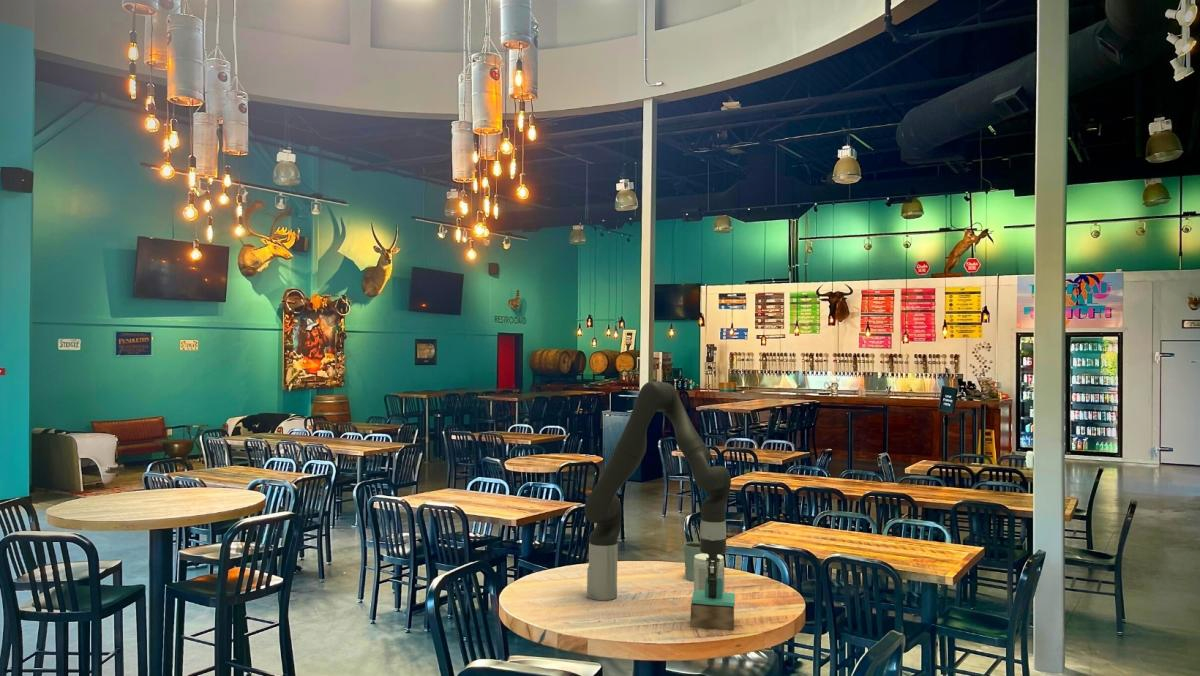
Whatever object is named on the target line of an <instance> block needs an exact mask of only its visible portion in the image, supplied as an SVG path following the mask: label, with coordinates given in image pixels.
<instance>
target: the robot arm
mask: <svg viewBox="0 0 1200 676" xmlns="http://www.w3.org/2000/svg"><path fill="white" fill-rule="evenodd" d="M657 412H661V413H663V414H664V415H665V416H666V418H667V419H668V420H669V421H670V422H671V425H672V427H673V429H674V436H675V441H676V443H677V444H676V445H677V446H678V449H679V450H680V452H681V453H682V454H683V457H684V458H685V460H686V461H687V462H688V464H689V467H690V471H691V474H692V476H693V479H694V481H695V484H696V485H697V487H698V488H699V489H701V491H702V492H705V493H709V495H708V496H707V498H705V499H704V500H703V501H702V502H701V506H700V514H701V515H700V527H699V542H700V551H701V552H702V553H704V554H708V555H709V558H706V566H707V576H708V581H707V583H708V585H709V598H716V585H717V577H718V576H719V566H720V558H718V557H717V555H722V556H723V555H725V554H726V552H727V521H726V515H727V513H726V506H727V502H728V499H729V496H730V491H731V486H732V478H731V473H730V471H729V470H728V469H727V467H725V466H722V465H715V466H710V464H709V461H710V459H711V456H712V455H711V451H710V450H709V448H708V447H707V445H706V444H705V442H704V441H703V439H702V438H701V436H700V435H699V433H698V432H697V430H696V429H695V426H694V425H693V423H692V421H691V419H690V417H689V415H688V413H687V411H686V408H685V406H684V404H683V402H682V400H681V397H680V396H679V393H678V392H677V389H676V388H675V387H674V385H672V384H671V383H670V382H666V381H648V382H646V383H645V384H644V385H643V386H642V387H641V389H640V391H639V392H638V395H637V397H636V400H635V402H634V406H633V409H632V411H631V414H630V416H629V418H628V420H627V423H626V425H625V427H624V429H623V432H622V433H621V435H620V438H619V439H618V441H617V443H616V445H615V447H614V450H613V451H612V453H611V455H610V458H609V460H608V462H607V463H606V466H605V468H604V470H603V472H602V474H601V476H600V478H599V479H598V482H597V483H596V484H595V486H594V488H593V489H592V491H591V492H590V494H589V495H588V497H587V498H586V501H585V504H584V509H583V510H584V516H585V518H586V519H587V521H589V522H590V523H592V524H596V526H595V527H594V529H593V530H592V531H591V532H590V533H589V536H588V567H587V572H586V573H587V576H586V577H587V578H586V581H587V582H586V585H587V586H586V598H587V599H591V600H597V601H611V600H614V599H616V598H617V597H618V543H619V542H618V540H619V537H620V534H621V524H622V522H621V521H622V504H621V503H622V502H621V500H620V497H619V496H618V495H617V494H616V493H617V492H618V491H619V489H620V488H621V487H622V486H623V485H624V484H625V483H626V482H627V481H628V479H629V480H630V478H631V476H632V475H633V474H634V473H635V472H636V470H637V469H638V468H639V466H640V464H641V462H642V460H643V458H644V456H645V455H646V451H647V446H648V445H647V443H648V442H647V439H648V438H647V432H648V427H649V425H650V423H651V421H652V419H653V417H654V416H655V413H657ZM710 578H714V579H715V580H710Z"/></svg>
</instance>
